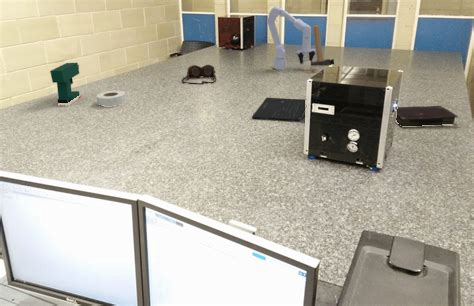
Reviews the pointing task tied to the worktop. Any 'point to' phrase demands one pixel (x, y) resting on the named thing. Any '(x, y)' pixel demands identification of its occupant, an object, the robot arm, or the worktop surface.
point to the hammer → (319, 49)
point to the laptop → (281, 109)
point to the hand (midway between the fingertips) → (305, 62)
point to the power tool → (65, 81)
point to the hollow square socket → (306, 64)
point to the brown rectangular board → (309, 70)
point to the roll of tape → (111, 98)
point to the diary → (424, 116)
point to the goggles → (200, 73)
